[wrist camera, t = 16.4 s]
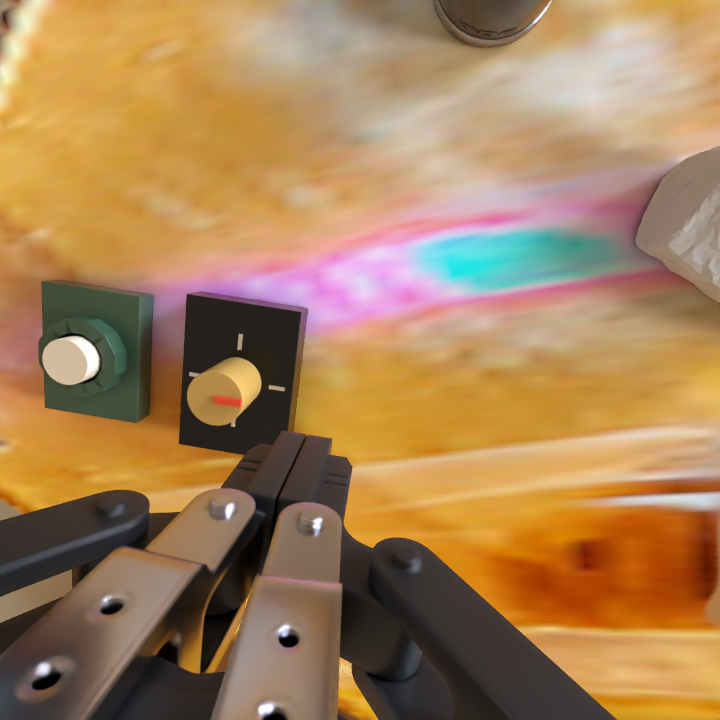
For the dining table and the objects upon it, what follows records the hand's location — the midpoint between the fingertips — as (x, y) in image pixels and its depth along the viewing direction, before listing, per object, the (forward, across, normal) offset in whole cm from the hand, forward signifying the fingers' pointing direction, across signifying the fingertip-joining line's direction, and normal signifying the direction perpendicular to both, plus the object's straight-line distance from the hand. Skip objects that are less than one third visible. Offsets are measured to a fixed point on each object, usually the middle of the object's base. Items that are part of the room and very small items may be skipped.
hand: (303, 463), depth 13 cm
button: (+23, +24, +6) cm, 34 cm away
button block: (+27, +24, +6) cm, 37 cm away
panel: (+27, +10, +6) cm, 29 cm away
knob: (+24, +10, +6) cm, 27 cm away
